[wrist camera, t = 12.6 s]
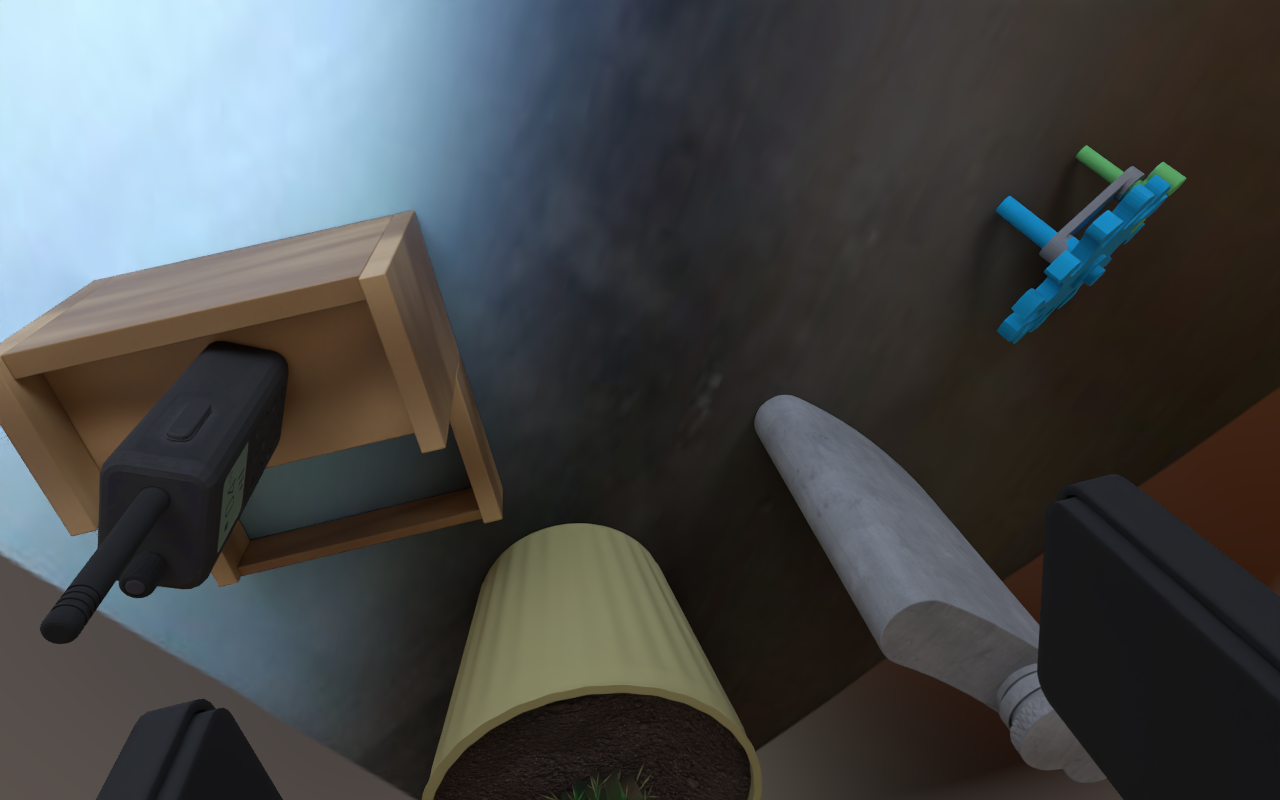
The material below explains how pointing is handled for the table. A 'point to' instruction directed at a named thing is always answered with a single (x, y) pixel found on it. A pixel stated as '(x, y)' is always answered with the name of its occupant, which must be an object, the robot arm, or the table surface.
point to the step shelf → (269, 319)
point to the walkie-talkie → (180, 481)
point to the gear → (1084, 237)
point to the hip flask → (917, 577)
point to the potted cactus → (587, 684)
